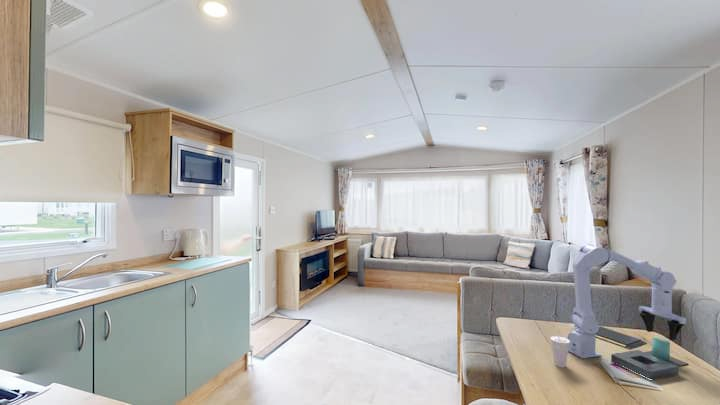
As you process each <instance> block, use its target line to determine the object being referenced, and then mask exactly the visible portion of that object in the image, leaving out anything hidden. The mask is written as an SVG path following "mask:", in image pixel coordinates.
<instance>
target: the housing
mask: <svg viewBox="0 0 720 405" xmlns="http://www.w3.org/2000/svg"><path fill="white" fill-rule="evenodd" d="M644 352H645V351H642V350H639V349H635V350H629V351H623V352H617V353H616V352H615V353H611V354H610V355H611V357H610V358H611V359H610V361H611V363H612V362H614V363H617V364H619V365H621V366H624V367H626V368H628V369H630V370H632V371H634V372H636V373H638V374H641V375H643V376H645V377H647V378H649V379H653V380H652V381H654V380H660V379H664V378H668V377H673V376H678V375H679V366H676V365H673V364H671V363H669V362H666V361H664V360H661V359H659V358H656V357H654V356H652V355H649V354H647V353H644ZM614 363H613V364H614ZM619 365H618V366H619ZM621 366H620V367H621Z"/></svg>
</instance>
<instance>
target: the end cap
mask: <svg viewBox="0 0 720 405" xmlns="http://www.w3.org/2000/svg"><path fill="white" fill-rule="evenodd" d="M651 340H652V341H651V342H652V344H651V346H652V347H651V349H652V350H651V351H652V356H654V357H656V358H659V359H661V360H664V361H666V362H668V361H670V356H671V342H670V341H669V340H667V339H664V338H660V337H652V339H651Z"/></svg>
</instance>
